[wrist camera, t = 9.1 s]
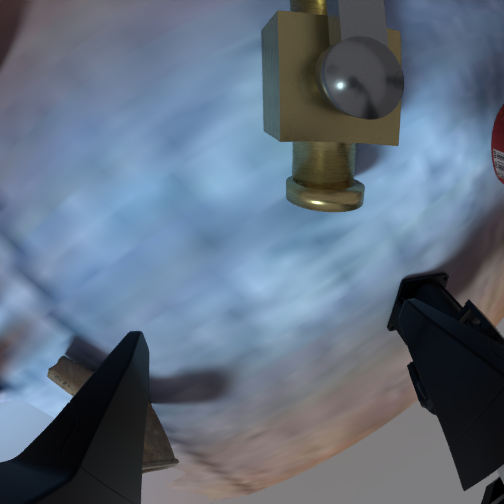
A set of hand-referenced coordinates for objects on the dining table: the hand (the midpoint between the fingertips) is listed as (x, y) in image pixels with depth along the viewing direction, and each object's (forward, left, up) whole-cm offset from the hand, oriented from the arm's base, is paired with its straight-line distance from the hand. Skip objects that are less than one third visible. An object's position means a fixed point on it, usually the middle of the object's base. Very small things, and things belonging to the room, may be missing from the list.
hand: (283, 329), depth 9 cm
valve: (-5, -8, -13) cm, 16 cm away
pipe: (+15, +20, -13) cm, 29 cm away
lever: (-5, -12, -7) cm, 15 cm away
